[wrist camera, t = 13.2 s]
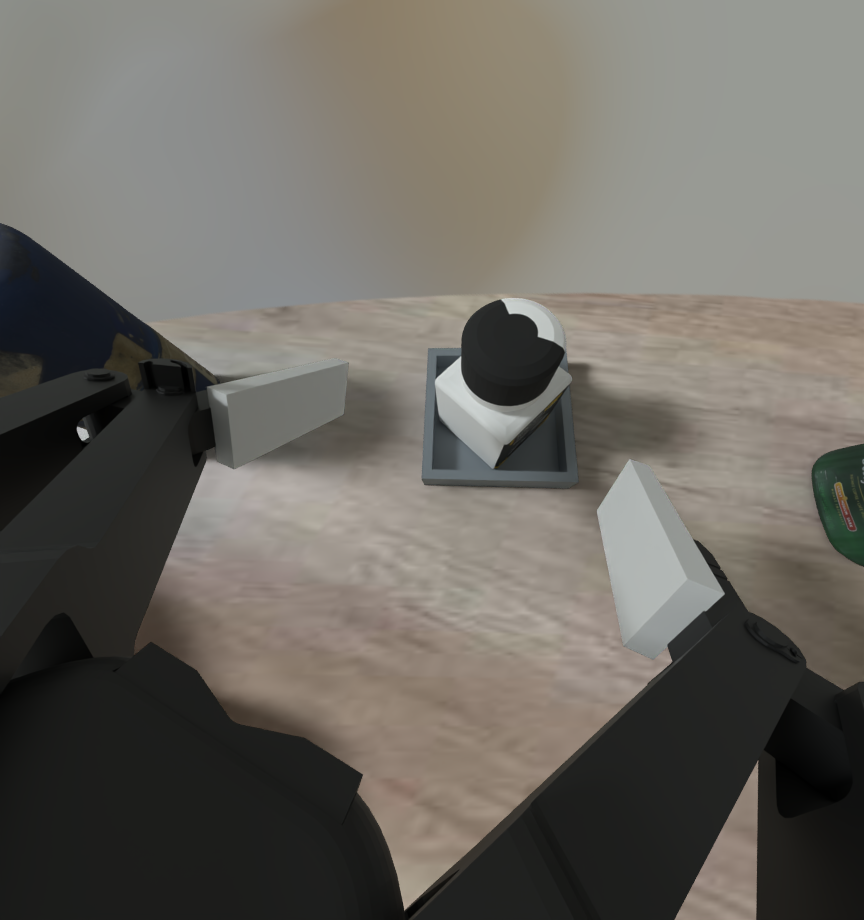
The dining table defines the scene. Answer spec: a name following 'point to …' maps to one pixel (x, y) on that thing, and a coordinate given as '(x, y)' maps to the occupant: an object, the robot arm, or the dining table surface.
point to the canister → (67, 324)
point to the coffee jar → (842, 499)
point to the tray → (530, 465)
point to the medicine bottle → (503, 377)
